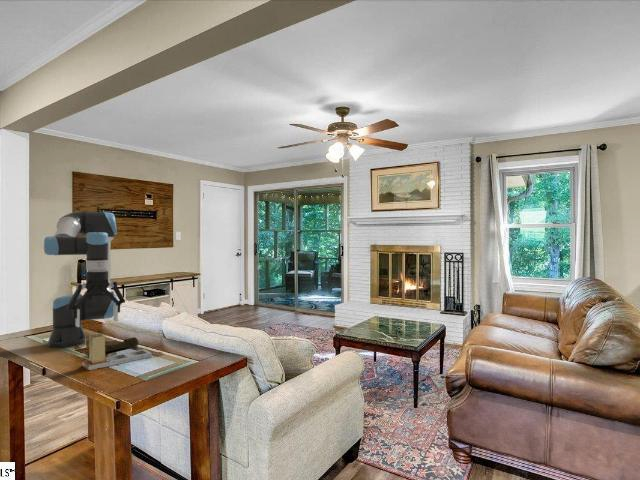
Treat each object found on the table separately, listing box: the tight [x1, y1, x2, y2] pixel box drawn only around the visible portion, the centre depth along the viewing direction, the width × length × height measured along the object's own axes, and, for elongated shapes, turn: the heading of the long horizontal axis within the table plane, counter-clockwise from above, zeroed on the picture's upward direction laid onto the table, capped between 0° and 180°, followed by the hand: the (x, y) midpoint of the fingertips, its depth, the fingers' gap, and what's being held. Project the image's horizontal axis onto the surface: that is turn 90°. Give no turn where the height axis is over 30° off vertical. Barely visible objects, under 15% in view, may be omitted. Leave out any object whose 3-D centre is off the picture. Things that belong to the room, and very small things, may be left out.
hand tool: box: [105, 337, 139, 354], centre depth 170 cm, size 19×4×5 cm, turn 139°
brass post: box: [88, 333, 106, 364], centre depth 149 cm, size 4×4×12 cm
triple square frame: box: [82, 349, 153, 371], centre depth 155 cm, size 8×24×2 cm, turn 137°
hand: (97, 323), depth 150 cm, fingers open, 13 cm apart
